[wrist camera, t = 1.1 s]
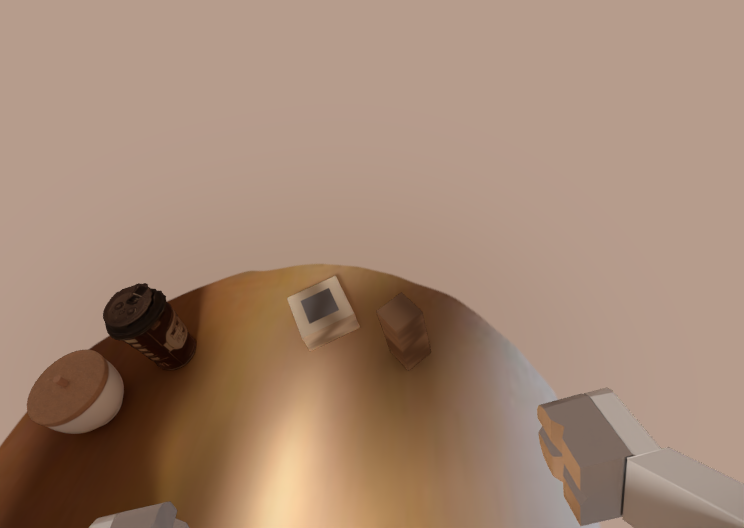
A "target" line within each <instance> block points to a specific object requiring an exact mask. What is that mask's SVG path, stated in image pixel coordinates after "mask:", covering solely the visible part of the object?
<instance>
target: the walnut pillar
mask: <svg viewBox="0 0 744 528" xmlns="http://www.w3.org/2000/svg"><path fill="white" fill-rule="evenodd" d="M376 312H377V315H378V318H379V321H380V323H381V326H382V329H383V332H384V335H385V338H386V340H387V343H388V346H389V349H390V352H391V353H392V354H393V355H394V356H395V357H396V358H397V359H398V360H399V361H400V362H401V363H402V364H403V366H404V367H405V368H406V369H407V370H408V371H409V370H410V369H412V368H413V367H414V366H415V365H416V364H418V363H419V362H420V361H421V360H423V359H424V358H425V357H426V356H428V355H429V354H430V353H431V349H430V345H429V340H428V335H427V331H426V326H425V322H424V317H423V312H422V311H421V310H420V309H419V308H418V307H417V306H416V305H415V304H414V303H413V302H411V301H410V300H409V299H408V298H407V297H406V296H405V295H404V294H403V293H402V292H401V293H400V294H398V295H397V296H396V297H394V298H393V299H392V300H390V301H389V302H388V303H386V304H385V305H384V306H382V307H381V308H380V309H378V310H377V311H376Z"/></svg>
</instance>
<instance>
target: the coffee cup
mask: <svg viewBox="0 0 744 528" xmlns="http://www.w3.org/2000/svg"><path fill="white" fill-rule="evenodd" d="M103 319H104V321H105V324H106V329H107V332H108V334H109V335H110V336H111V337H112V338H114V339H116V340H122V341H125V342H126V343H128V344H129V345H131V346H132V347H133V348H136V349H137V350H139V351H140V352H142V353H143V354H144V355H145V356H146V357H148V358H149V359H150V360H152V361H154V362H155V363H156V364H157V366H159V367H160V368H162V369H166V370H175V369H178V368H180V367H182V366H184V365H185V364H186V363H187V362H188V361H189V360H190V359H191V358H192V356H193V355H194V352H195V349H196V342H195V339H194V338H193V337H192V336H191V335H190V334H189V332H188V331H187V328H186V326H185V325H184V323H183V322H182V321H181V319H180V318H179V317H178V315H177V314H176V312H175V311H174V309H173V308H172V307H171V305H170V304H169V303H167V302H166V296H165V295H163V293H162V291H157V290H156V289H150V288H149V287H148V285H147V284H146V283H144V284H136V285H134V286H131V287H128V288H125V289H122V290H121V291H120V292H117V293H116V294H115V295H114V296H113V297H112V298H111V299H110V301H109V302H108V304H107V305H106V307H105V309H104V313H103Z"/></svg>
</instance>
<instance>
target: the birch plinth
mask: <svg viewBox="0 0 744 528" xmlns="http://www.w3.org/2000/svg"><path fill="white" fill-rule="evenodd" d="M287 300H288V302H289V305H290V308H291V310H292V313H293V316H294V318H295V321H296V324H297V326H298V329H299V332H300V335H301V337H302V339H303V341H304V343H305V344H306V346H307V347H308V349H309V351H312V350H315V349H317V348H319V347H321V346H323V345H325V344H327V343H329V342H331V341H333V340H335V339H337V338H339V337H342V336H344V335H346V334H348V333H350V332H352V331H354V330H356V329H358V328H360V326H359V323H358V321H357V319H356V316H355V314H354V312H353V310H352V308H351V306H350V304H349V302H348V300H347V298H346V296H345V294H344V292H343V290H342V288H341V286H340V283H339V281H338V279H337V277H336V275H335V276H333V277H331V278H329V279H327V280H325V281H322V282H320V283H318V284H316V285H314V286H312V287H309V288H307V289H305V290H303V291H301V292H299V293H297V294H294V295H292V296H290V297H288V298H287Z"/></svg>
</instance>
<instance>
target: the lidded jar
mask: <svg viewBox="0 0 744 528" xmlns="http://www.w3.org/2000/svg"><path fill="white" fill-rule="evenodd" d="M123 395H124V385H123V381H122V378H121V376H120V374H119V372H118V371H117V370H116V369H115V367H114V366H113V365H112V364H111V363H110V362H108V361H107V360H106V359H105V358H104V357H103V356H102V355H101V354H99V353H98V352H96V351H93V350H80V351H75V352H72V353H70V354H67V355H65V356H63V357H62V358H60V359H59V360H57V361H56V362H54V363H53V364H52V365H51V366H49V367H48V368H47V369H46V370H45V371H44V372H43V373H42V374H41V376H40V377H39V378H38V380H37V381H36V382H35V384H34V386H33V387H32V389H31V392H30V394H29V397H28V401H27V411H28V415H29V417H30V418H31V419H32V420H33V421H34V422H36V423H38V424H40V425H42V426H46V427H48V428H50V429H53V430H55V431H59V432H63V433H69V434H80V433H85V432H89V431H92V430H94V429H96V428H98V427H101V426H103V425H105V424H107V423H108V422H109V421H111V420H112V419H113V418H114V417H115V416H116V414H117V413H118V411H119V410H120V408H121V405H122V402H123Z"/></svg>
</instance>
